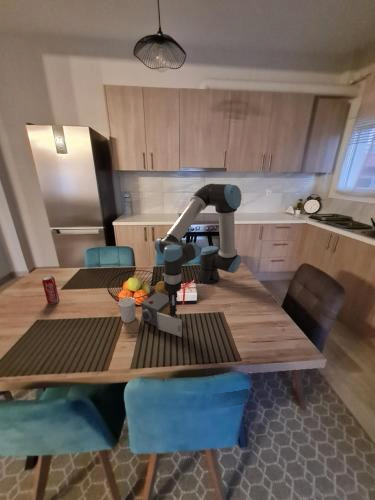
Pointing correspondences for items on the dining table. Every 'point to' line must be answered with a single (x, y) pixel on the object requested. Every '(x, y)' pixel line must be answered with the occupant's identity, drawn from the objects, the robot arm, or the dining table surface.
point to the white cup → (127, 309)
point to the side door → (169, 324)
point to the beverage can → (50, 289)
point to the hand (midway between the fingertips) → (172, 324)
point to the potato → (160, 288)
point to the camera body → (155, 307)
